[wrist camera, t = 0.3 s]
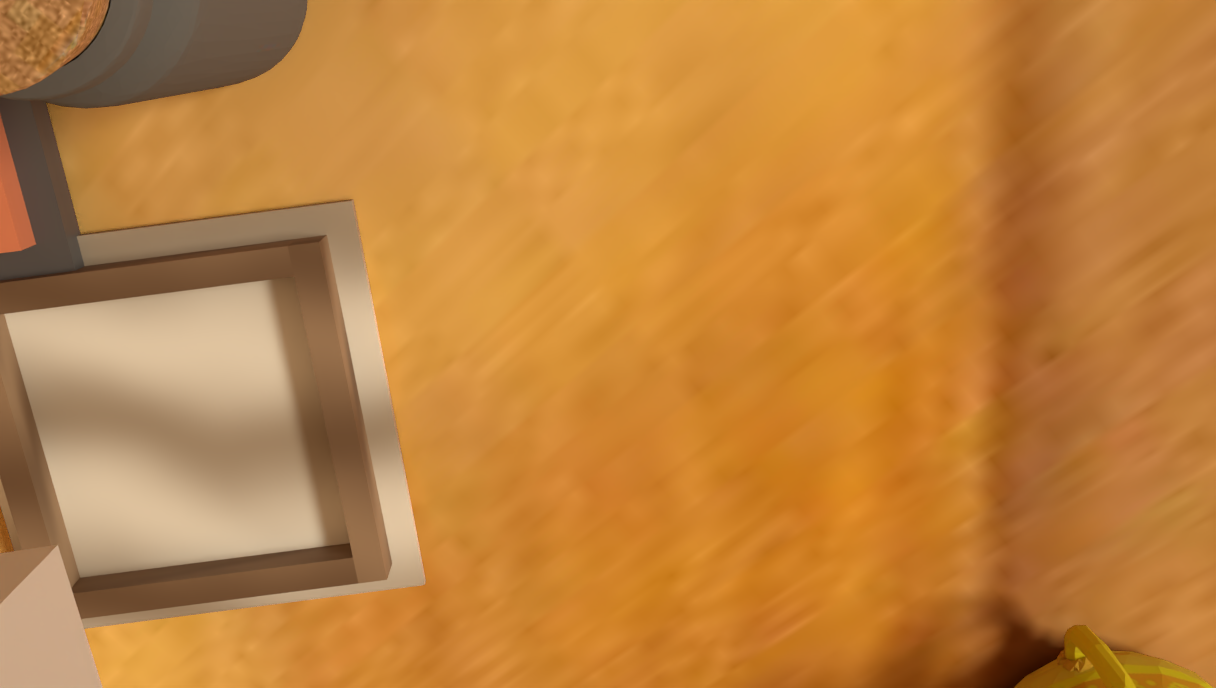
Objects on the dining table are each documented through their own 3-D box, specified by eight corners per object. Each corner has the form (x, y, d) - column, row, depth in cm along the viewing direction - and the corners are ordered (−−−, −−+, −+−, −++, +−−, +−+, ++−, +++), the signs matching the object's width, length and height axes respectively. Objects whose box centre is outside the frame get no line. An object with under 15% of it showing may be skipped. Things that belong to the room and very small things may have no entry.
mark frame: (-71, 254, 36) (-98, 263, 35) (353, 199, 36) (344, 206, 35) (43, 629, 40) (23, 652, 39) (425, 580, 40) (420, 601, 39)
